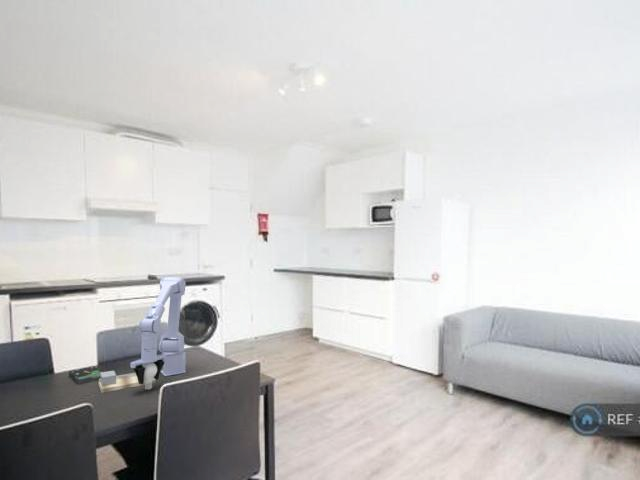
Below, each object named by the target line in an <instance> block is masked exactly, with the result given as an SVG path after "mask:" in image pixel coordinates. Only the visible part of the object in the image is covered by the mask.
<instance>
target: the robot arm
mask: <svg viewBox="0 0 640 480" xmlns="http://www.w3.org/2000/svg"><path fill="white" fill-rule="evenodd" d="M186 284H187V283H186V280H185V278H184V277H183V276H178V277H177V276H174V277H173V276H162V277H161V279H160V280H159V289H160V290H159V293H158V296H157V297H156V298H157V299H156V301H155V302H153V303H152V304H151V306H150V307H149V309H148V311H147V313H146V315H145V317H143V318H142V319H141V320H140V322H139V324H138V332H139V336H140V337H141V348H140V351H141V353H140V356H141V357H140V359H137V360H134V361H131V362H130V364H129V365H130V368H131V369H132V370H133V371H134V373H136V375H137V378H138V382H139V384H143V382H144V371H145V368H144V367H143V365H145V364H148V363H150V362H151V363H154V364H156V366H157V373H156V375H155V376H154V379H155V381H156V380H159V376H160V374H162V375H163V376H164V377H169V376H173V375H174V376H175V375H180V374H186V372H187V371H186V361H187V360H186V359H187V358H186V352H185V351H184V349H185V336H184V335H183V334H182V333H181V332H180V331H179V328H180V327H179V326H180V317H181V305H182V296H184V295H185V292H186V286H187V285H186ZM168 299H169V305H168V306H169V307H168V314H167V315H168V317H167V326H166V332H165V333H163V334H162V335H161V337H160V341H159V345H158V332H159V330H160V328H161V322H162V319H161V318H162V317H163V315H164V312H165V311H166V307H165V305H166V303H167V301H168ZM158 349H159V352H161V354H158V355H157V353H158V352H157V350H158Z"/></svg>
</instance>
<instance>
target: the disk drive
mask: <svg viewBox="0 0 640 480" xmlns="http://www.w3.org/2000/svg"><path fill="white" fill-rule="evenodd" d="M101 372H102V371H101V370H100V369H98V368H97V367H96V366H90V367H86V368H85V367H84V368H80V369H78V370H75V369H74V370H69V371H68V377H69V378H70V379H72V380H73V381H74V382H75V384H76V385H82V384H83V385H84V384H88V383H93V382H98V381H99V379H100V373H101ZM92 381H93V382H92Z"/></svg>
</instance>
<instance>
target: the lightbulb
mask: <svg viewBox="0 0 640 480" xmlns="http://www.w3.org/2000/svg"><path fill="white" fill-rule="evenodd" d="M142 366H143V367H144V368H145V371H144V382H145V385H144V390H147V391H150V390H151V389H153V383H152V381H153V378H154V376H155V375H156V373H157V366H156V364H154V363H151V362H150V363H148V364H145V365H142Z"/></svg>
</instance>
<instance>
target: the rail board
mask: <svg viewBox="0 0 640 480" xmlns="http://www.w3.org/2000/svg"><path fill="white" fill-rule="evenodd" d="M152 384H156V379H154V378H153V381H152ZM98 386H99V389H100V393H101V394H104V393H108V392H114V391H118V390H125V389H131V388H134V387H140V386H145V382H143V384H139V382H138V378H137V375H136V373H135V372H131V373H126V374H119V375H117V374H116V371H115V370H109V371H101V373H100V379H99V380H98Z"/></svg>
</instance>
